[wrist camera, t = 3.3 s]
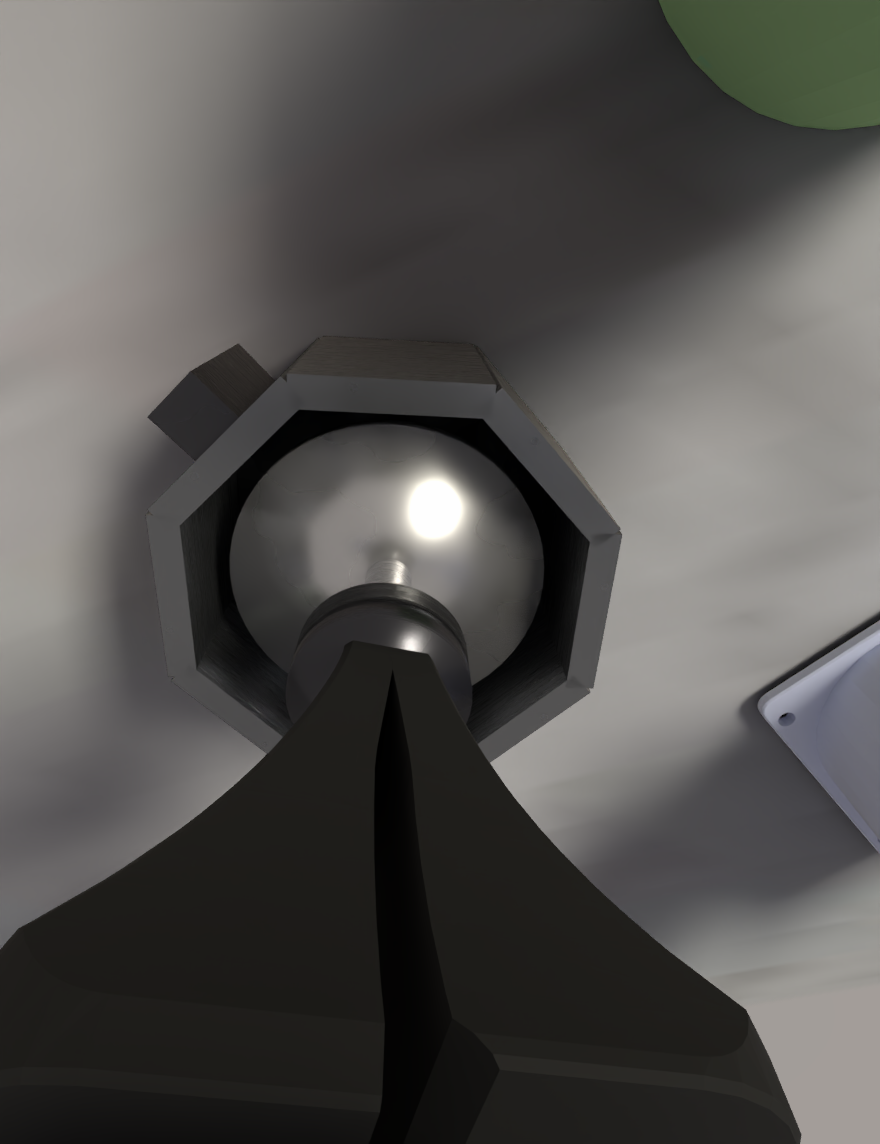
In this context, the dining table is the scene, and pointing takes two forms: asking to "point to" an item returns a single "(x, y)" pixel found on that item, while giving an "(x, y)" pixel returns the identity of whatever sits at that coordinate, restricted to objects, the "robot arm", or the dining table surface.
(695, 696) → the dining table surface
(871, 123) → the mug
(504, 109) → the dining table surface
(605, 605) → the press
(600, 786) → the dining table surface
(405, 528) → the plunger
